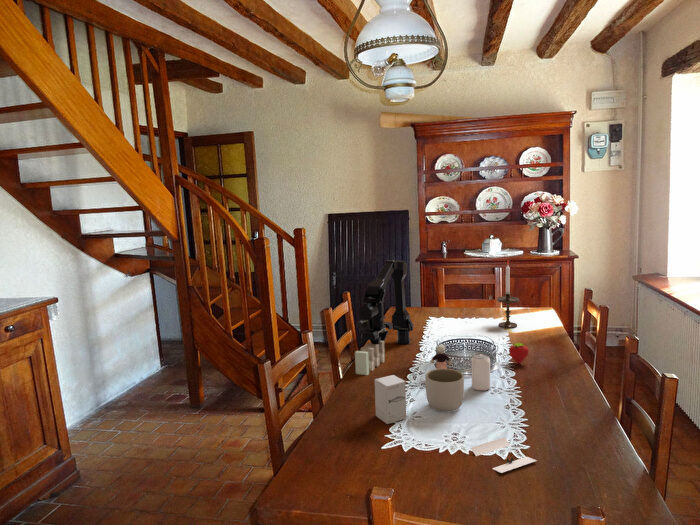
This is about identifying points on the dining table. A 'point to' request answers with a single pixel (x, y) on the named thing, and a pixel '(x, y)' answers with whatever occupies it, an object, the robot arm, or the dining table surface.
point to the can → (480, 372)
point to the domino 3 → (381, 352)
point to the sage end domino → (362, 362)
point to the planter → (444, 389)
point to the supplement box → (390, 399)
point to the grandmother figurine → (441, 358)
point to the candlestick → (507, 301)
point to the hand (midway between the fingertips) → (378, 350)
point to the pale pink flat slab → (497, 445)
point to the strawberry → (518, 352)
